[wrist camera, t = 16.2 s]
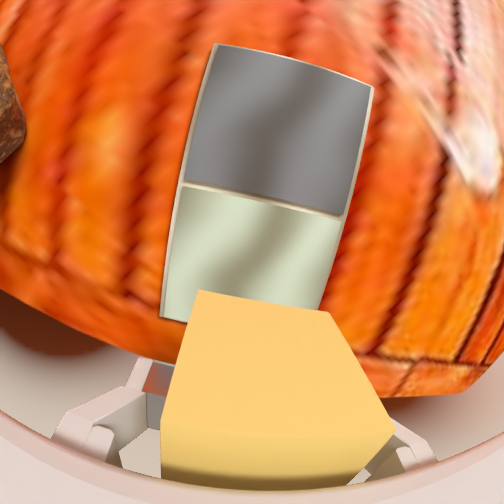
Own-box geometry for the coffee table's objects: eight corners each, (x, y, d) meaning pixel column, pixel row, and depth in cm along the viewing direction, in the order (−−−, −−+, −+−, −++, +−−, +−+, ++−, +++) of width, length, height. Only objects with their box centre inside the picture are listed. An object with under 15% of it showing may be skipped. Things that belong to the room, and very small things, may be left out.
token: (328, 312, 10) (396, 430, 5) (291, 401, 12) (315, 510, 6) (198, 289, 10) (160, 420, 4) (184, 387, 11) (162, 503, 5)
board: (371, 88, 17) (376, 86, 16) (303, 338, 23) (305, 344, 22) (214, 46, 16) (214, 41, 15) (161, 312, 21) (158, 318, 21)
